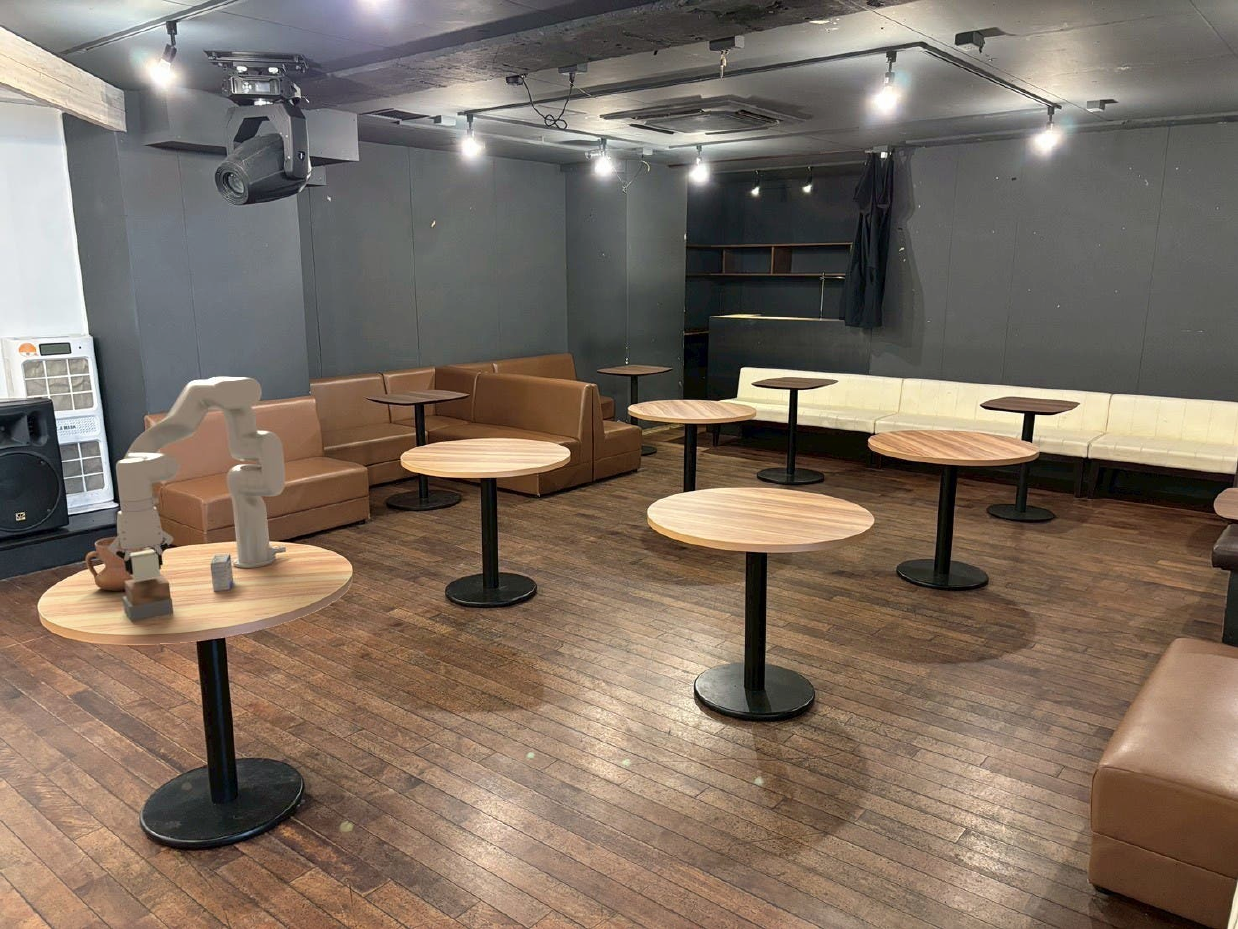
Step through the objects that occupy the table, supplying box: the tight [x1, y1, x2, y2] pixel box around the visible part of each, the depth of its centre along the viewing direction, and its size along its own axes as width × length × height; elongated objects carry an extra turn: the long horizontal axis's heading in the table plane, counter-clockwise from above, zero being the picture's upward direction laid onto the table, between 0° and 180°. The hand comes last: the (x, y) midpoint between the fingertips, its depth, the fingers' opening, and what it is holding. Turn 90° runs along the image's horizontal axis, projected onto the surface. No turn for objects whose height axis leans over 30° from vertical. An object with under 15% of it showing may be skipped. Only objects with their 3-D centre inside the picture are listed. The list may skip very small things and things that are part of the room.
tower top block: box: [124, 573, 172, 606], centre depth 232 cm, size 9×9×4 cm
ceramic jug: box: [85, 536, 152, 592], centre depth 252 cm, size 18×14×14 cm
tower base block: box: [122, 595, 174, 623], centre depth 233 cm, size 10×10×4 cm
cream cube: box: [130, 548, 161, 581], centre depth 231 cm, size 6×6×6 cm
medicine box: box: [209, 553, 234, 592], centre depth 252 cm, size 8×4×9 cm, turn 17°
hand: (144, 570), depth 231 cm, fingers closed on cream cube, 6 cm apart
